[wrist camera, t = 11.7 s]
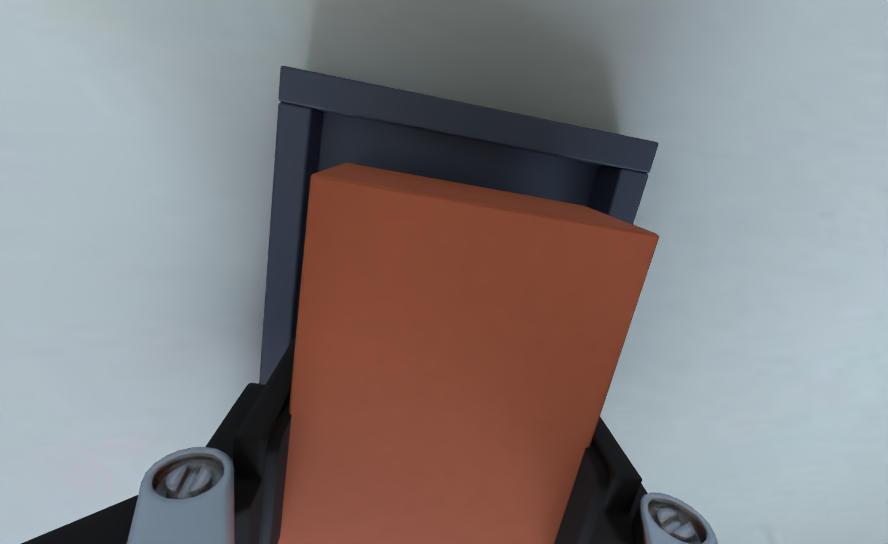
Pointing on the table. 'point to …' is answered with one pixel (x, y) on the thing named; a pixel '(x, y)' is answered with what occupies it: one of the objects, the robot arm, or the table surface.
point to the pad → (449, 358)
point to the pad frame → (425, 165)
